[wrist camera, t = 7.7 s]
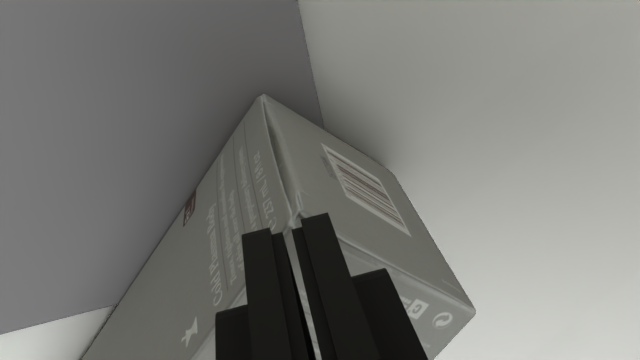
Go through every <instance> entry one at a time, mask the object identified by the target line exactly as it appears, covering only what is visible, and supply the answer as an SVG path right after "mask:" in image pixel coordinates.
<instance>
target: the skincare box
mask: <svg viewBox="0 0 640 360" xmlns="http://www.w3.org/2000/svg"><path fill="white" fill-rule="evenodd" d="M327 212H328V214H329V216H330V219H331V222H332V225H333V228H334V230H335V233H336V236H337V239H338V242H339V244H340V247H341V250H342V253H343V255H344V258H345V261H346V264H347V267H348V269H349V272H350V275H351V277H352V276H356V275H359V274H363V273H367V272H371V271H374V270H378V269H382V268H386V269H387V271H388V273H389V275H390V277H391V279H392V281H393V284H394V286H395V288H396V290H397V292H398V294H399V297H400V299H401V301H402V303H403V305H404V308H405V310H406V312H407V314H408V316H409V318H410V321H411V323H412V325H413V327H414V329H415V331H416V334H417V336H418V338H419V340H420V342H421V345H422V347H423V349H424V351H425V353H426V355H427V358H428V360H433V359H434V358H435V357H436V356H437V355H438V354H439V353H440V352H441V351H442V350H443V349H444V348H445V347H446V345H447V344H448V343H449V342H450V341H451V340H452V339H453V338H454V337H455V336H456V335H457V334H458V333H459V331H460V330H461V329H462V328H463V327H464V326H465V325H466V324H467V323H468V322H469V321H470V320H471V319H472V318H473V317H474V315H475V314H476V310H475V308H474V306H473V304H472V303H471V301H470V299H469V298H468V296H467V295H466V293H465V291H464V290H463V288H462V286H461V285H460V283H459V282H458V280H457V278H456V277H455V275H454V273H453V272H452V270H451V268H450V267H449V265H448V264H447V262H446V260H445V259H444V257H443V255H442V254H441V252H440V250H439V249H438V247H437V245H436V244H435V242H434V240H433V239H432V237H431V235H430V234H429V232H428V230H427V228H426V227H425V225H424V223H423V222H422V220H421V219H420V217H419V215H418V214H417V212H416V210H415V209H414V207H413V205H412V204H411V202H410V200H409V199H408V197H407V195H406V194H405V192H404V191H403V189H402V187H401V186H400V184H399V182H398V181H397V179H396V177H395V176H394V175H393V173H392V172H390V171H389V170H387V169H386V168H385V167H383V166H382V165H380V164H378V163H377V162H375V161H374V160H372V159H371V158H369V157H368V156H366V155H365V154H363V153H361V152H360V151H358V150H356V149H355V148H353V147H351V146H350V145H348V144H346V143H345V142H343V141H341V140H340V139H338V138H336V137H335V136H333V135H331V134H330V133H328V132H326V131H325V130H323V129H321V128H320V127H318V126H316V125H315V124H313V123H312V122H310V121H308V120H307V119H305V118H304V117H302V116H300V115H299V114H297V113H295V112H294V111H292V110H291V109H289V108H287V107H286V106H284V105H282V104H281V103H279V102H277V101H276V100H274V99H272V98H271V97H269V96H268V95H266V94H262V95H261V96H259V97H257V98H256V99H255V101H254V103H253V105H252V106H251V108H250V109H249V110H248V112H247V113H246V115H245V116H244V118H243V119H242V121H241V122H240V123H239V125H238V126H237V128H236V129H235V131H234V132H233V134H232V135H231V137H230V138H229V140H228V141H227V143H226V144H225V146H224V148H223V149H222V151H221V152H220V154H219V155H218V157H217V158H216V160H215V161H214V163H213V164H212V166H211V167H210V169H209V170H208V172H207V173H206V175H205V176H204V178H203V179H202V181H201V182H200V184H199V185H198V187H197V188H196V190H195V191H194V193H193V194H192V195H191V197H190V198H189V200H188V201H187V203H186V204H185V206H184V208H183V209H182V211H181V212H180V214H179V215H178V217H177V218H176V220H175V221H174V223H173V224H172V226H171V227H170V229H169V230H168V231H167V233H166V234H165V236H164V237H163V239H162V240H161V242H160V243H159V245H158V246H157V248H156V249H155V251H154V252H153V254H152V255H151V257H150V258H149V260H148V261H147V263H146V264H145V266H144V267H143V269H142V270H141V272H140V273H139V275H138V276H137V278H136V279H135V281H134V282H133V284H132V285H131V287H130V288H129V290H128V291H127V293H126V294H125V295H124V297H123V298H122V300H121V301H120V303H119V304H118V306H117V307H116V309H115V310H114V312H113V313H112V315H111V316H110V318H109V319H108V321H107V322H106V324H105V325H104V327H103V328H102V330H101V331H100V333H99V334H98V336H97V337H96V339H95V340H94V342H93V343H92V345H91V346H90V348H89V349H88V351H87V352H86V354H85V355H84V356H83V358H82V359H81V360H215V315H216V313H217V312H219V311H223V310H227V309H231V308H235V307H238V306H242V305H246V304H247V294H246V282H245V271H244V260H243V249H242V234H245V233H249V232H253V231H257V230H261V229H265V228H269V227H270V230H271V233H272V234H276V233H280V232H283V236H284V239H285V243H286V247H287V250H288V254H289V258H290V261H291V265H292V269H293V273H294V276H295V280H296V284H297V287H298V291H299V295H300V299H301V302H302V306H303V310H304V313H305V317H306V321H307V324H308V328H309V332H310V336H311V339H312V343H313V347H314V351H315V356H316V360H322V359H321V354H320V350H319V346H318V342H317V337H316V333H315V329H314V325H313V320H312V316H311V312H310V307H309V303H308V299H307V295H306V290H305V286H304V282H303V278H302V273H301V269H300V265H299V261H298V256H297V252H296V248H295V244H294V239H293V235H292V231H291V229H295V228H299V227H302V224H301V220H300V219H304V218H307V217H311V216H315V215H319V214H323V213H327Z"/></svg>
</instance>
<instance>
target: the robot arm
mask: <svg viewBox="0 0 640 360" xmlns="http://www.w3.org/2000/svg"><path fill="white" fill-rule="evenodd" d="M300 220H301V224H302V227H299V228H295V229H291V231H292V235H293V239H294V244H295V248H296V252H297V256H298V261H299V265H300V269H301V273H302V278H303V282H304V286H305V290H306V295H307V299H308V303H309V307H310V312H311V316H312V320H313V325H314V329H315V333H316V337H317V342H318V346H319V350H320V354H321V359H322V360H428V358H427V355H426V353H425V351H424V349H423V347H422V345H421V342H420V340H419V338H418V336H417V334H416V331H415V329H414V327H413V325H412V323H411V321H410V318H409V316H408V314H407V312H406V310H405V308H404V305H403V303H402V301H401V299H400V297H399V294H398V292H397V290H396V288H395V286H394V284H393V281H392V279H391V277H390V275H389V273H388V271H387V269H386V268H382V269H378V270H374V271H371V272H367V273H363V274H359V275H356V276H352V277H351V275H350V272H349V269H348V267H347V264H346V261H345V258H344V255H343V253H342V250H341V247H340V244H339V242H338V239H337V236H336V233H335V230H334V228H333V225H332V222H331V219H330V216H329V214H328V212H327V213H323V214H319V215H315V216H311V217H307V218H304V219H300ZM242 249H243V260H244V271H245V282H246V294H247V304H246V305H242V306H238V307H235V308H231V309H227V310H223V311H219V312H217V313H216V315H215V360H316V356H315V351H314V347H313V343H312V339H311V336H310V332H309V328H308V324H307V321H306V317H305V313H304V310H303V306H302V302H301V299H300V295H299V291H298V287H297V284H296V280H295V276H294V273H293V269H292V265H291V261H290V258H289V254H288V250H287V247H286V243H285V239H284V236H283V232H280V233H276V234H272V233H271V230H270V227H269V228H265V229H261V230H257V231H253V232H249V233H245V234H242Z"/></svg>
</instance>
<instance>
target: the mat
mask: <svg viewBox="0 0 640 360" xmlns="http://www.w3.org/2000/svg"><path fill="white" fill-rule="evenodd" d="M262 94H266V95H268V96H269V97H271V98H272V99H274V100H276V101H277V102H279V103H281V104H282V105H284V106H286V107H287V108H289V109H291V110H292V111H294V112H295V113H297V114H299V115H300V116H302V117H304V118H305V119H307V120H308V121H310V122H312V123H313V124H315V125H316V126H318V127H320V128H321V129H323V130H324V126H323V121H322V117H321V112H320V107H319V103H318V98H317V93H316V88H315V84H314V79H313V74H312V69H311V65H310V60H309V55H308V50H307V46H306V41H305V36H304V32H303V27H302V22H301V17H300V13H299V8H298V3H297V0H0V335H1V334H4V333H8V332H12V331H16V330H20V329H24V328H27V327H31V326H35V325H39V324H43V323H47V322H50V321H54V320H58V319H62V318H66V317H69V316H73V315H77V314H81V313H85V312H89V311H92V310H96V309H100V308H104V307H108V306H112V305H115V304H119V303H120V301H121V300H122V298H123V297H124V295H125V294H126V293H127V291H128V290H129V288H130V287H131V285H132V284H133V282H134V281H135V279H136V278H137V276H138V275H139V273H140V272H141V270H142V269H143V267H144V266H145V264H146V263H147V261H148V260H149V258H150V257H151V255H152V254H153V252H154V251H155V249H156V248H157V246H158V245H159V243H160V242H161V240H162V239H163V237H164V236H165V234H166V233H167V231H168V230H169V229H170V227H171V226H172V224H173V223H174V221H175V220H176V218H177V217H178V215H179V214H180V212H181V211H182V209H183V208H184V206H185V204H186V203H187V201H188V200H189V198H190V197H191V195H192V194H193V193H194V191H195V190H196V188H197V187H198V185H199V184H200V182H201V181H202V179H203V178H204V176H205V175H206V173H207V172H208V170H209V169H210V167H211V166H212V164H213V163H214V161H215V160H216V158H217V157H218V155H219V154H220V152H221V151H222V149H223V148H224V146H225V144H226V143H227V141H228V140H229V138H230V137H231V135H232V134H233V132H234V131H235V129H236V128H237V126H238V125H239V123H240V122H241V121H242V119H243V118H244V116H245V115H246V113H247V112H248V110H249V109H250V108H251V106H252V105H253V103H254V101H255V99H256V98H257V97H259V96H261V95H262Z"/></svg>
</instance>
